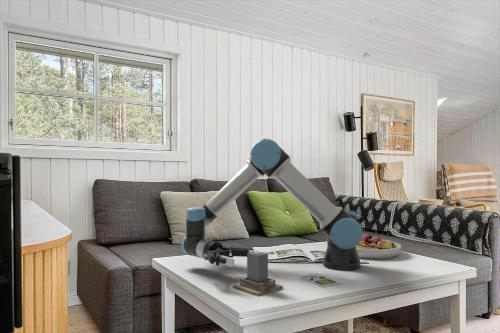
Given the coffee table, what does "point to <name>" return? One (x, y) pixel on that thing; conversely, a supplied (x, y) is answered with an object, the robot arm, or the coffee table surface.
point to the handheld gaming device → (320, 280)
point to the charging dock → (257, 286)
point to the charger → (257, 267)
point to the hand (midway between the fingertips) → (248, 259)
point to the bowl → (377, 248)
